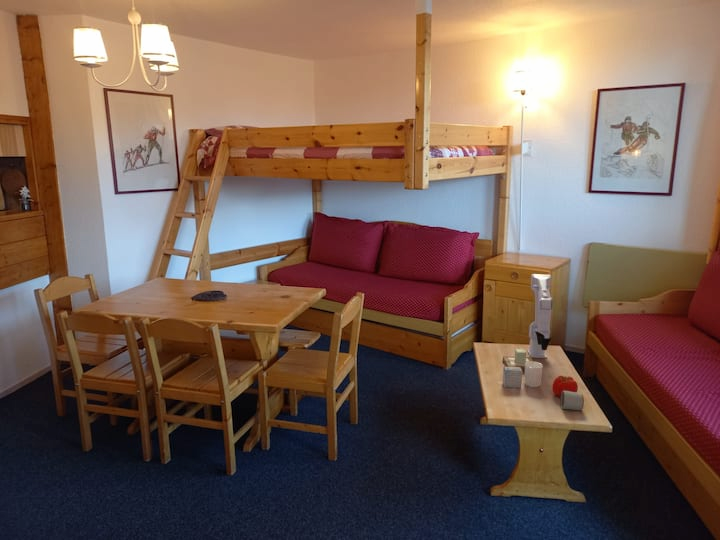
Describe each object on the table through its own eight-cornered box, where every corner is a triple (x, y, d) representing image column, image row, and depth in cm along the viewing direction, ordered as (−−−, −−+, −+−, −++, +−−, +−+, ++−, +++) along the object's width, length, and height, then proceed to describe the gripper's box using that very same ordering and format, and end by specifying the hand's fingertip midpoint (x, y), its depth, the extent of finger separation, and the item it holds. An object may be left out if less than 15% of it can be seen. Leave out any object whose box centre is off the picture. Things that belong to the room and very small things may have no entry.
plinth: (502, 360, 271) (503, 356, 270) (529, 360, 270) (530, 356, 269) (508, 371, 257) (508, 367, 256) (537, 372, 256) (537, 367, 256)
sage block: (514, 359, 265) (515, 348, 264) (523, 360, 265) (524, 349, 264) (516, 363, 261) (517, 352, 259) (525, 363, 260) (526, 352, 259)
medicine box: (519, 384, 243) (520, 366, 241) (521, 388, 239) (522, 370, 237) (502, 383, 244) (503, 366, 242) (503, 387, 240) (505, 370, 238)
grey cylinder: (583, 413, 216) (585, 396, 214) (563, 412, 217) (564, 395, 216) (578, 402, 226) (579, 386, 224) (558, 400, 227) (560, 384, 226)
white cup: (520, 384, 243) (522, 364, 240) (528, 379, 248) (529, 359, 246) (536, 389, 238) (538, 369, 235) (544, 384, 243) (545, 364, 241)
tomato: (581, 400, 227) (583, 381, 225) (559, 402, 226) (560, 383, 224) (568, 389, 238) (569, 371, 236) (546, 391, 236) (547, 373, 234)
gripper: (532, 316, 265) (530, 341, 268) (539, 325, 251) (537, 352, 254) (546, 317, 265) (544, 342, 267) (554, 326, 250) (552, 352, 253)
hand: (542, 347), depth 261 cm, fingers open, 7 cm apart
